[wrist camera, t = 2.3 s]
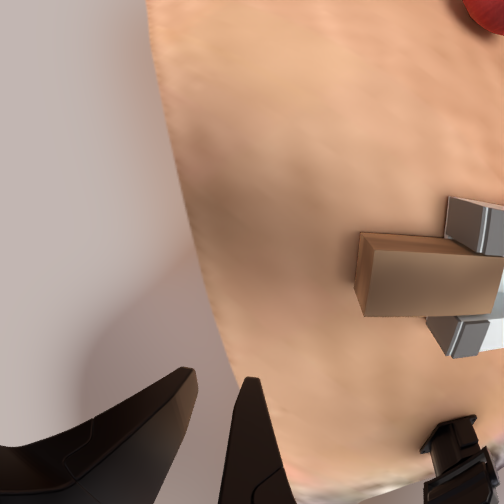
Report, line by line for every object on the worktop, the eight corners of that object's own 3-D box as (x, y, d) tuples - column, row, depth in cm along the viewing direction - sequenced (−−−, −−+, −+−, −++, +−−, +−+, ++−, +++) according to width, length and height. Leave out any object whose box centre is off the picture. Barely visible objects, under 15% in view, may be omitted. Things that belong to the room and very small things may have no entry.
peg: (466, 290, 17) (490, 313, 13) (353, 288, 19) (364, 316, 15) (477, 241, 16) (506, 257, 12) (360, 232, 17) (374, 250, 14)
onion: (492, 10, 9) (533, -18, 1) (502, 56, 11) (554, 34, 3) (442, -17, 10) (475, -58, 2) (451, 27, 11) (498, -12, 4)
